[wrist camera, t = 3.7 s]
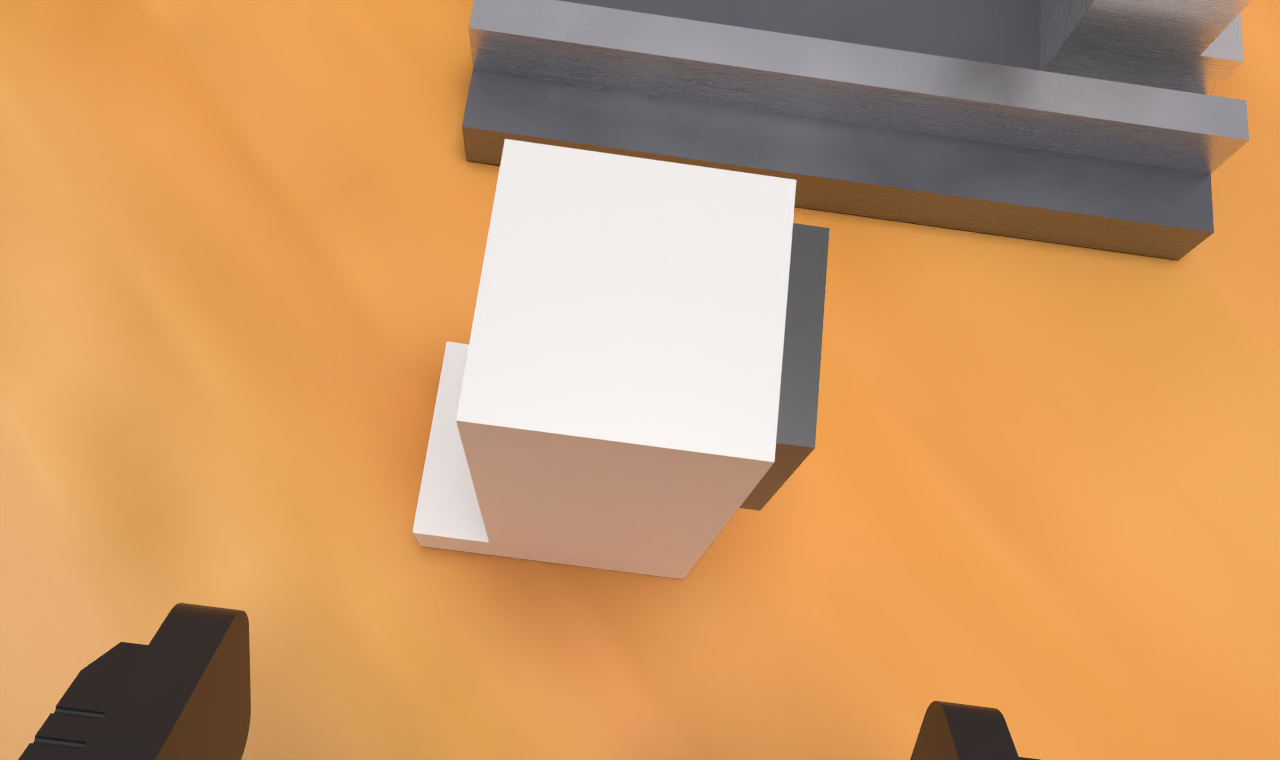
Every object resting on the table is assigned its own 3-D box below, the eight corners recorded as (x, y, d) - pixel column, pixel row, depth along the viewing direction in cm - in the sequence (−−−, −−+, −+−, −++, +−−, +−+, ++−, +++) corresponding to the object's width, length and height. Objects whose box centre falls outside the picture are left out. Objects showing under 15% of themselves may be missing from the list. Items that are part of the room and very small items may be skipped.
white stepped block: (420, 546, 23) (335, 404, 14) (452, 365, 25) (394, 122, 15) (711, 583, 24) (820, 468, 14) (728, 401, 25) (839, 186, 15)
